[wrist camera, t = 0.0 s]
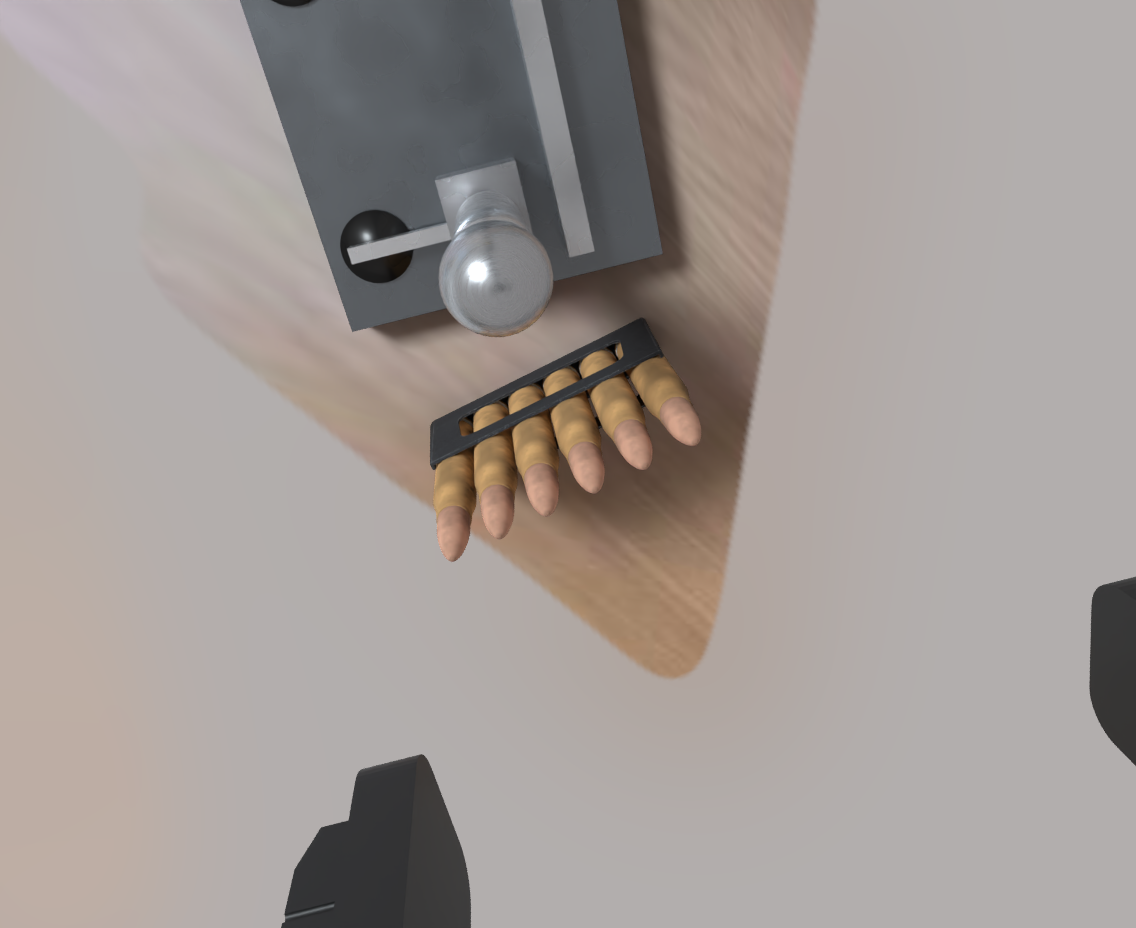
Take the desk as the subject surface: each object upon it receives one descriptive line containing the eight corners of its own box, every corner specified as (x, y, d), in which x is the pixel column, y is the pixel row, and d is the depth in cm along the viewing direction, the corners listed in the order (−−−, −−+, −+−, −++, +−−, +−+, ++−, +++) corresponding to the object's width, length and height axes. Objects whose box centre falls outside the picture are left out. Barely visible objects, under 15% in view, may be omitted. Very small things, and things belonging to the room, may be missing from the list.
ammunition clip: (449, 456, 40) (440, 592, 29) (429, 422, 39) (412, 550, 28) (659, 352, 39) (732, 453, 28) (643, 316, 38) (711, 405, 27)
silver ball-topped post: (335, 201, 33) (251, 265, 21) (512, 157, 33) (537, 194, 21) (368, 302, 35) (309, 419, 22) (537, 259, 35) (574, 352, 22)
